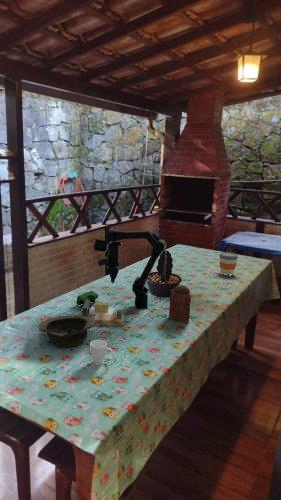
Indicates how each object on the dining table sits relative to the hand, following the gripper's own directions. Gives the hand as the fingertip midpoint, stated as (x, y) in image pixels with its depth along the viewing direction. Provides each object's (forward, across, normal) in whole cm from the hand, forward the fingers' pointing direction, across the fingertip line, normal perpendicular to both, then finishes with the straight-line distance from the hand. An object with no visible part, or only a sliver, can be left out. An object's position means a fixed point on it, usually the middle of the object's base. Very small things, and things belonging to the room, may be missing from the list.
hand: (113, 280), depth 200 cm
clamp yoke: (+13, +25, -12) cm, 30 cm away
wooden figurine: (+13, +19, +35) cm, 42 cm away
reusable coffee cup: (+13, -59, +79) cm, 99 cm away
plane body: (+13, +25, -4) cm, 28 cm away
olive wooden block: (+12, +13, -5) cm, 19 cm away
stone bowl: (+13, +42, -18) cm, 48 cm away
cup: (+13, +62, -1) cm, 63 cm away
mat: (+13, +13, -5) cm, 19 cm away
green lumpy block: (+13, +3, -13) cm, 19 cm away
